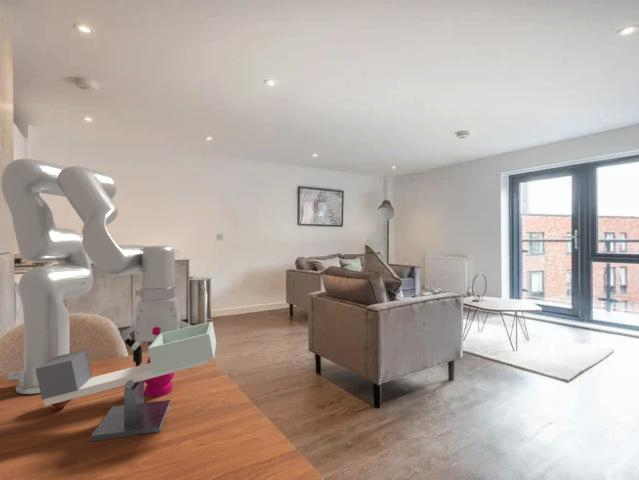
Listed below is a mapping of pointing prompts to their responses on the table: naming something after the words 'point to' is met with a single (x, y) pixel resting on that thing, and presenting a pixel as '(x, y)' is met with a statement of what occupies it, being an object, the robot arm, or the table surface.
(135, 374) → the beam
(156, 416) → the stand
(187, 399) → the table surface
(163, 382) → the pepper mill
